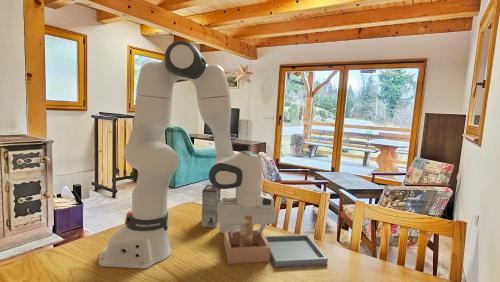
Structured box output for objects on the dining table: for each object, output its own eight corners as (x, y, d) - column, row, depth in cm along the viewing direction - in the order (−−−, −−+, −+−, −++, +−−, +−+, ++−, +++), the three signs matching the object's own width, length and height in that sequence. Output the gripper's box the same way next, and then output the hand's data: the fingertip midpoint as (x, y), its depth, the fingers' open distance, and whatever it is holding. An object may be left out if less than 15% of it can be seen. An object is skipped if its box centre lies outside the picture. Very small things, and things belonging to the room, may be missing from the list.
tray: (275, 267, 94) (275, 261, 93) (262, 241, 111) (263, 236, 111) (327, 264, 97) (327, 258, 97) (307, 239, 115) (307, 234, 114)
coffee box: (205, 218, 131) (206, 184, 129) (219, 219, 131) (221, 184, 128) (201, 226, 122) (202, 189, 120) (216, 228, 121) (217, 191, 119)
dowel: (240, 255, 100) (242, 216, 99) (238, 249, 105) (240, 212, 103) (252, 254, 101) (254, 216, 99) (250, 248, 105) (252, 211, 104)
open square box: (228, 263, 95) (228, 249, 94) (224, 243, 108) (224, 230, 108) (269, 261, 97) (270, 247, 97) (260, 241, 111) (261, 229, 110)
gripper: (219, 201, 95) (217, 240, 97) (278, 200, 99) (276, 238, 101) (217, 195, 102) (216, 232, 103) (273, 194, 105) (271, 230, 107)
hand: (246, 235), depth 102 cm, fingers open, 8 cm apart
